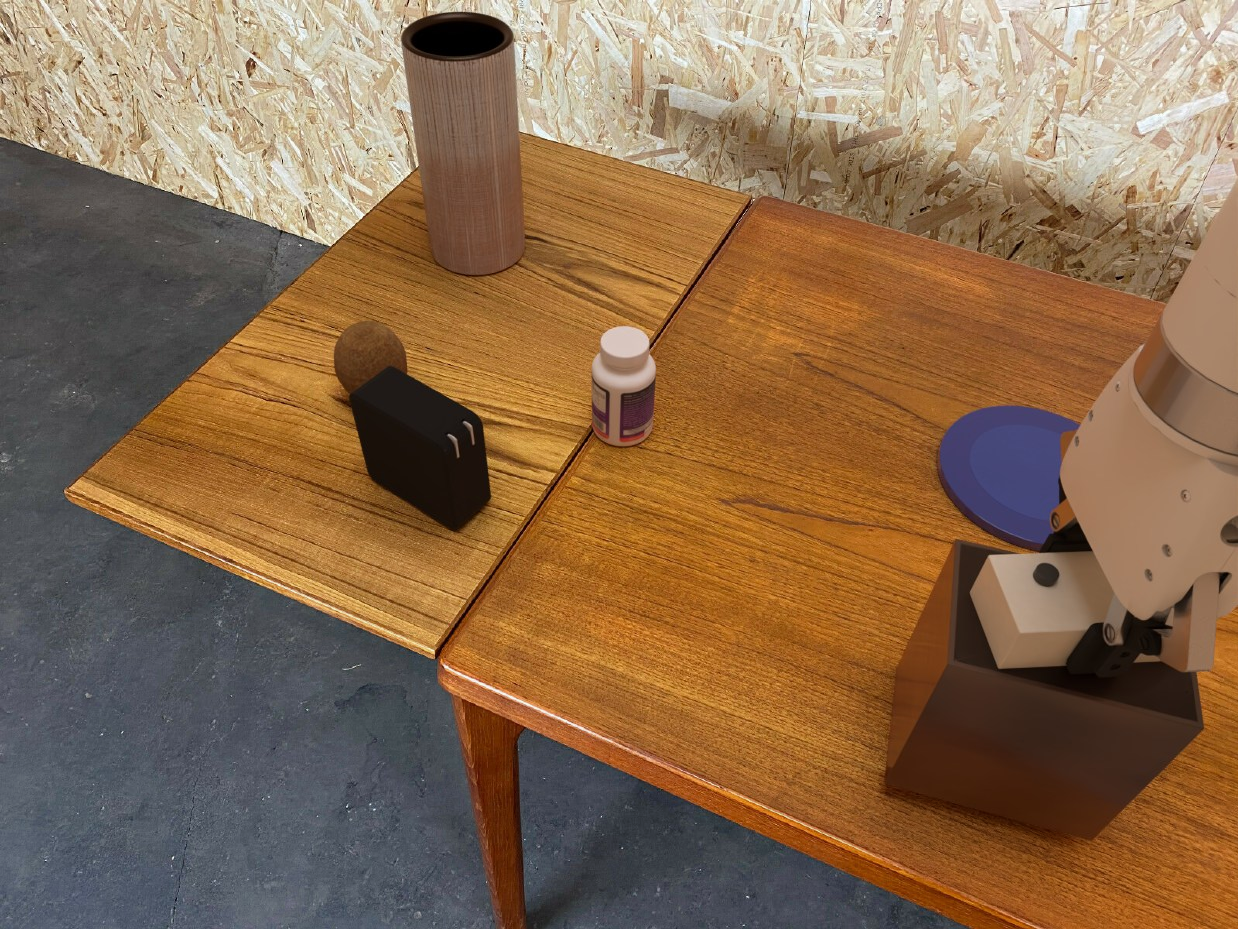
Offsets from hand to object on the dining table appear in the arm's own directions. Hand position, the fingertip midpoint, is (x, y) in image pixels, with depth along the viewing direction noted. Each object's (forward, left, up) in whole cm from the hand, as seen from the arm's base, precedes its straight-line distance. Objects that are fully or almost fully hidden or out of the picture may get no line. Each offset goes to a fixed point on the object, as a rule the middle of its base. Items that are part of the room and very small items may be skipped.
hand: (1074, 620), depth 53 cm
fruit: (+54, -19, -16) cm, 59 cm away
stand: (0, 0, -16) cm, 16 cm away
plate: (-3, -26, -16) cm, 31 cm away
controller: (0, 0, -1) cm, 1 cm away
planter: (+54, -43, -16) cm, 71 cm away
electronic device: (+45, -10, -16) cm, 49 cm away
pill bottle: (+32, -22, -16) cm, 42 cm away
